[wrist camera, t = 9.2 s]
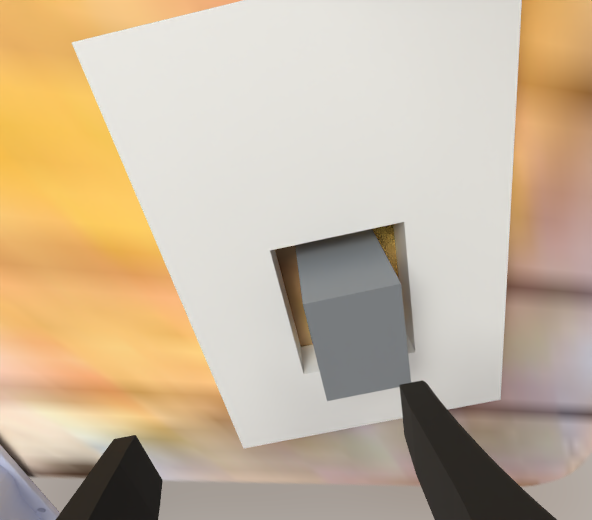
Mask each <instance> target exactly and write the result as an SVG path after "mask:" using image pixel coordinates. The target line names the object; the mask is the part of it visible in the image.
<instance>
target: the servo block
mask: <svg viewBox="0 0 592 520" xmlns="http://www.w3.org/2000/svg"><path fill="white" fill-rule="evenodd" d="M295 247H296V255H297V263H298V270H299V278H300V286H301V294H302V302H303V307H304V311H305V315H306V319H307V323H308V327H309V331H310V335H311V339H312V343H313V347H314V351H315V355H316V359H317V363H318V367H319V371H320V375H321V379H322V383H323V387H324V391H325V395H326V399H327V401H331V400H336V399H341V398H346V397H351V396H356V395H361V394H366V393H371V392H376V391H381V390H386V389H392V388H397V387H400V386H399V385H400V384H406V383H411V376H410V366H409V357H408V347H407V337H406V327H405V317H404V307H403V298H402V288H401V283H400V281H399V279H398V277H397V275H396V273H395V271H394V269H393V268H392V266H391V264H390V262H389V260H388V258H387V256H386V254H385V252H384V251H383V249H382V247H381V245H380V243H379V241H378V239H377V237H376V236H375V234H374V232H373V230H372V229H368V230H363V231H359V232H354V233H349V234H345V235H340V236H335V237H331V238H326V239H321V240H317V241H312V242H307V243H303V244H298V245H295Z"/></svg>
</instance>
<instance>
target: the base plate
mask: <svg viewBox="0 0 592 520" xmlns="http://www.w3.org/2000/svg"><path fill="white" fill-rule="evenodd" d="M521 5H522V0H243V1H239V2H235V3H231V4H227V5H223V6H219V7H215V8H211V9H207V10H203V11H199V12H194V13H190V14H186V15H182V16H178V17H174V18H170V19H166V20H162V21H158V22H154V23H150V24H146V25H141V26H137V27H133V28H129V29H125V30H121V31H117V32H113V33H109V34H105V35H101V36H97V37H93V38H88V39H84V40H80V41H76V42H72V45H73V47H74V49H75V52H76V54H77V56H78V59H79V61H80V63H81V66H82V68H83V70H84V73H85V75H86V78H87V80H88V82H89V85H90V87H91V89H92V92H93V94H94V96H95V99H96V101H97V104H98V106H99V108H100V111H101V113H102V115H103V118H104V120H105V122H106V125H107V127H108V129H109V132H110V134H111V137H112V139H113V141H114V144H115V146H116V148H117V151H118V153H119V155H120V158H121V160H122V163H123V165H124V167H125V170H126V172H127V174H128V177H129V179H130V181H131V184H132V186H133V188H134V191H135V193H136V196H137V198H138V200H139V203H140V205H141V207H142V210H143V212H144V214H145V217H146V219H147V222H148V224H149V226H150V229H151V231H152V233H153V236H154V238H155V240H156V243H157V245H158V247H159V250H160V252H161V255H162V257H163V259H164V262H165V264H166V266H167V269H168V271H169V273H170V276H171V278H172V281H173V283H174V285H175V288H176V290H177V292H178V295H179V297H180V299H181V302H182V304H183V306H184V309H185V311H186V314H187V316H188V318H189V321H190V323H191V325H192V328H193V330H194V332H195V335H196V337H197V340H198V342H199V344H200V347H201V349H202V351H203V354H204V356H205V358H206V361H207V363H208V365H209V368H210V370H211V373H212V375H213V377H214V380H215V382H216V384H217V387H218V389H219V391H220V394H221V396H222V399H223V401H224V403H225V406H226V408H227V410H228V413H229V415H230V417H231V420H232V422H233V424H234V427H235V429H236V432H237V434H238V436H239V439H240V441H241V443H242V446H243V448H248V447H254V446H259V445H264V444H269V443H275V442H280V441H285V440H290V439H296V438H301V437H306V436H311V435H317V434H322V433H327V432H332V431H338V430H343V429H348V428H353V427H359V426H364V425H369V424H374V423H380V422H385V421H390V420H395V419H401V418H403V415H402V405H401V396H400V387H397V388H392V389H386V390H381V391H376V392H371V393H366V394H361V395H356V396H351V397H346V398H341V399H336V400H331V401H327V399H326V395H325V391H324V387H323V383H322V379H321V375H320V371H319V367H318V363H317V359H316V355H315V351H314V347H313V345H308V346H303V347H301V346H300V342H299V338H298V334H297V331H296V327H295V323H294V319H293V316H292V312H291V308H290V304H289V301H288V297H287V293H286V289H285V285H284V282H283V278H282V274H281V270H280V267H279V263H278V259H277V255H276V252H275V249H279V248H284V247H289V246H293V245H298V244H303V243H307V242H312V241H317V240H321V239H326V238H331V237H335V236H340V235H345V234H349V233H354V232H359V231H363V230H368V229H373V228H377V227H382V226H387V225H391V224H393V227H394V237H395V247H396V257H397V267H398V277H399V281H400V283H401V288H402V298H403V307H404V317H405V327H406V337H407V347H408V357H409V366H410V376H411V382H416V381H421V380H423V381H424V382H426V383H427V384H428V385H429V387H430V388H431V390H432V391H433V392H434V394H435V395H436V396H437V397H438V399H439V400H440V401H441V403H442V404H443V405H444V406H445V407H446V409H447V410H448V409H453V408H458V407H464V406H469V405H474V404H479V403H485V402H490V401H495V400H500V399H501V380H502V361H503V343H504V324H505V305H506V286H507V268H508V249H509V230H510V211H511V192H512V174H513V155H514V136H515V117H516V99H517V80H518V61H519V42H520V23H521Z"/></svg>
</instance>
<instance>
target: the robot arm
mask: <svg viewBox="0 0 592 520" xmlns="http://www.w3.org/2000/svg"><path fill="white" fill-rule="evenodd" d="M399 386H400V396H401V405H402V415H403V424H404V434H405V438H406V442H407V445H408V448H409V452H410V455H411V458H412V462H413V465H414V468H415V471H416V474H417V477H418V480H419V482H420V485H421V487H422V489H423V492H424V494H425V497H426V499H427V501H428V504H429V506H430V509H431V511H432V514H433V516H434V519H435V520H556V519H555V518H554V517H553V516H552V515H551V514H550V513H549V512H547V511H546V510H545V509H544V508H543V507H542V506H541V505H539V504H538V503H537V502H536V501H535V500H534V499H533V498H532V497H531V496H530V495H529V494H527V493H526V492H525V491H524V490H523V489H522V488H521V487H520V486H519V485H518V484H517V483H516V482H515V481H514V480H513V479H512V478H511V477H510V476H509V475H508V474H507V473H506V472H504V471H503V470H502V469H501V468H500V467H499V466H498V465H497V464H496V463H495V462H494V461H493V459H492V458H491V457H490V456H489V455H488V454H487V453H486V452H485V451H484V450H483V449H482V448H481V447H480V446H479V445H478V444H477V443H476V442H475V440H474V439H473V438H472V437H471V436H470V435H469V434H468V433H467V432H466V431H465V430H464V428H463V427H462V426H461V425H460V424H459V423H458V422H457V420H456V419H455V418H454V417H453V416H452V415H451V413H450V412H449V411H448V410H447V409H446V407H445V406H444V405H443V404H442V403H441V401H440V400H439V399H438V397H437V396H436V395H435V394H434V392H433V391H432V390H431V388H430V387H429V385H428V384H427V383H426V382H424V381H423V380H421V381H416V382H411V383H406V384H400V385H399ZM161 489H162V479H161V477H160V475H159V474H158V472H157V470H156V469H155V467H154V465H153V464H152V462H151V460H150V459H149V457H148V455H147V454H146V452H145V450H144V448H143V447H142V445H141V443H140V442H139V440H138V438H137V437H136V435H133V436H128V437H123V438H118V439H114V440H113V441H112V443H111V444H110V445H109V447H108V448H107V449H106V451H105V452H104V453H103V455H102V456H101V458H100V459H99V460H98V462H97V463H96V465H95V466H94V467H93V469H92V470H91V472H90V473H89V474H88V476H87V477H86V479H85V480H84V481H83V483H82V484H81V486H80V487H79V488H78V490H77V491H76V493H75V494H74V495H73V497H72V498H71V499H70V501H69V502H68V504H67V505H66V506H65V508H64V509H63V510H62V512H61V513H59V511H58V510H57V509H56V508H55V507H54V506H53V504H52V503H51V502H50V501H49V500H48V499H47V498H46V496H45V495H44V494H43V493H42V492H41V491H40V490H39V488H38V487H37V486H36V485H35V484H34V483H33V481H31V479H30V478H29V477H28V476H27V475H26V473H25V472H24V471H23V470H22V469H21V468H20V467H19V465H18V464H17V463H16V462H15V461H14V460H13V459H12V457H11V456H10V455H9V454H8V453H7V452H6V451H5V449H4V448H3V447H2V446H1V445H0V520H158V516H159V507H160V499H161Z"/></svg>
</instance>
